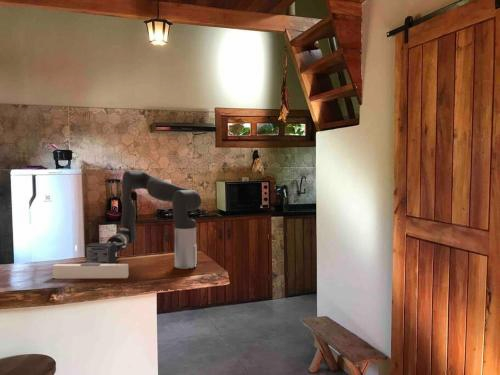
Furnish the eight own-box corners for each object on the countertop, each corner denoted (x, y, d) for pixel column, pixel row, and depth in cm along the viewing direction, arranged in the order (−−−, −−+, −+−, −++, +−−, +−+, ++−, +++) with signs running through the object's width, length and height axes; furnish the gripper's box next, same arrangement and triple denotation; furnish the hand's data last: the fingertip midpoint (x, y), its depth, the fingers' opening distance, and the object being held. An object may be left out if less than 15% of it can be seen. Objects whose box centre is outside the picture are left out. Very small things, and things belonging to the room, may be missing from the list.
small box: (116, 266, 168) (116, 242, 167) (109, 271, 161) (109, 246, 161) (93, 266, 169) (92, 242, 168) (85, 270, 162) (85, 245, 162)
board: (128, 276, 155) (128, 262, 154) (126, 278, 152) (126, 264, 152) (55, 276, 153) (55, 263, 153) (52, 278, 151) (52, 264, 150)
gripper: (103, 234, 188) (90, 242, 171) (130, 234, 189) (121, 242, 171) (103, 250, 188) (90, 259, 171) (131, 250, 189) (121, 259, 172)
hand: (106, 250), depth 171 cm, fingers closed
